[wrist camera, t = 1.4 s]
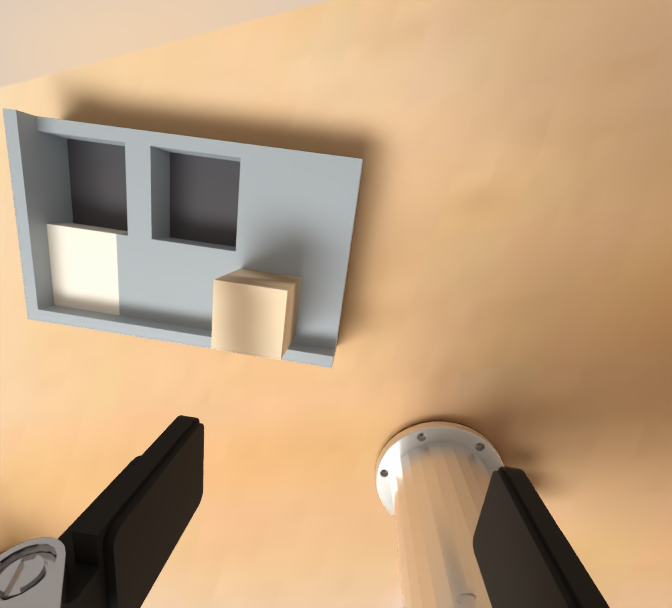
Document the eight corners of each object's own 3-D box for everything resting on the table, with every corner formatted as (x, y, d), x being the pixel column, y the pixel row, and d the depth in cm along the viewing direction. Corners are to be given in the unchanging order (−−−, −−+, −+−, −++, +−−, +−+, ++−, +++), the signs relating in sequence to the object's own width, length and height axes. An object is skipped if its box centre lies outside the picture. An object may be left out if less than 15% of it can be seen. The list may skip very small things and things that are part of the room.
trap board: (362, 165, 27) (362, 155, 22) (336, 346, 31) (331, 368, 27) (58, 125, 28) (2, 108, 24) (73, 305, 32) (28, 319, 28)
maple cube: (301, 277, 26) (287, 290, 22) (295, 335, 28) (280, 360, 23) (240, 268, 27) (213, 279, 22) (237, 326, 28) (211, 348, 23)
